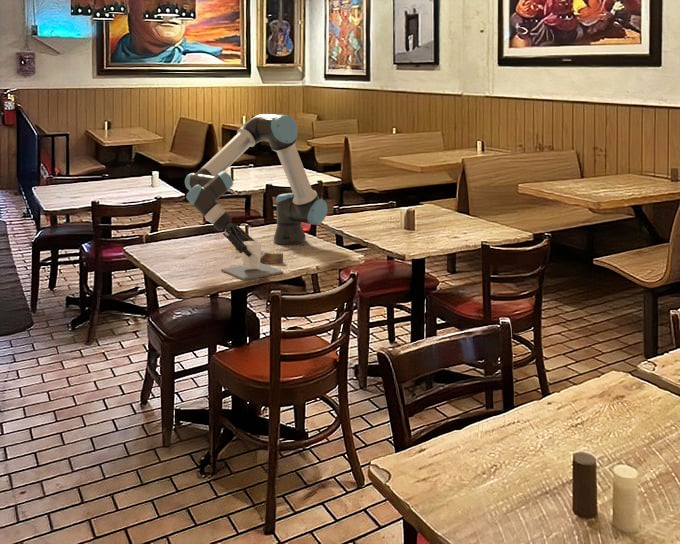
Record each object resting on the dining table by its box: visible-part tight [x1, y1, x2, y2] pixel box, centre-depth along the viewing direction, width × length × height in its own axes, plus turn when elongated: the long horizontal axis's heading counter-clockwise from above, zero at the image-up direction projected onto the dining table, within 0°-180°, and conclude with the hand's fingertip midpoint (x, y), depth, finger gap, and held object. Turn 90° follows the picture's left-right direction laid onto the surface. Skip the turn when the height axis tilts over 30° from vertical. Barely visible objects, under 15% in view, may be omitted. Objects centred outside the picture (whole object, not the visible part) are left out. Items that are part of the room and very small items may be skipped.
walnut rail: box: [260, 251, 284, 265], centre depth 318 cm, size 14×2×4 cm, turn 73°
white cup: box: [241, 240, 262, 269], centre depth 300 cm, size 8×8×10 cm
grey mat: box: [221, 262, 284, 281], centre depth 302 cm, size 18×18×1 cm
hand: (259, 258), depth 300 cm, fingers closed on white cup, 8 cm apart
